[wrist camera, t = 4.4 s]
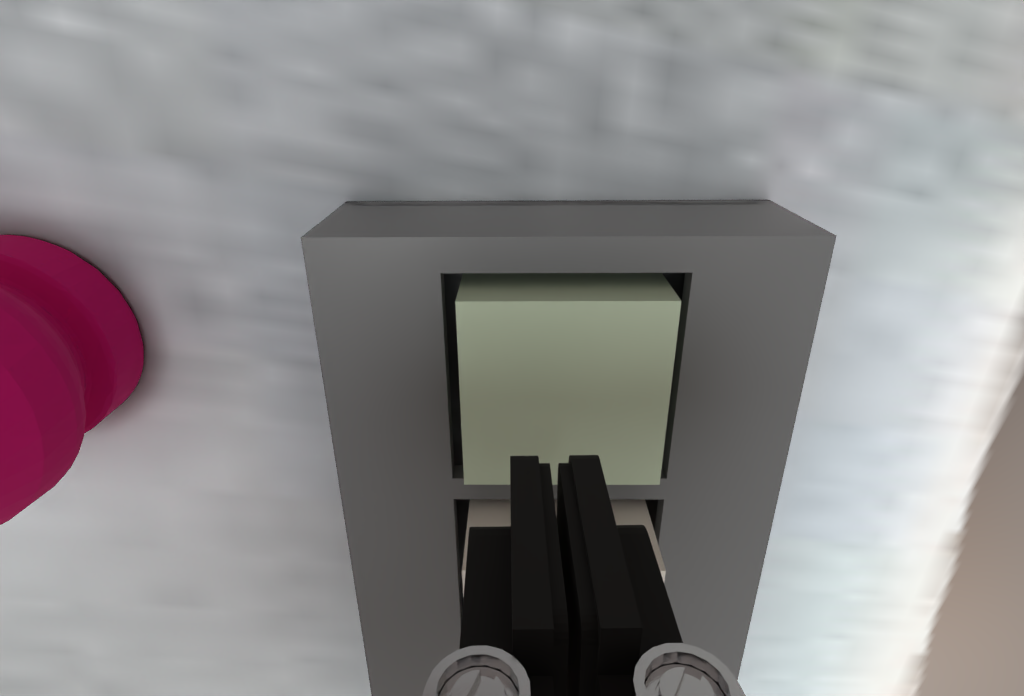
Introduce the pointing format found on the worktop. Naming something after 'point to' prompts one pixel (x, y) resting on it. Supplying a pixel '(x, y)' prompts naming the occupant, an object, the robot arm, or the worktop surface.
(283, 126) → the worktop surface
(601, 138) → the worktop surface
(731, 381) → the keypad
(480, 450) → the key sage
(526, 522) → the robot arm
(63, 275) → the pepper mill
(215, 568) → the worktop surface
